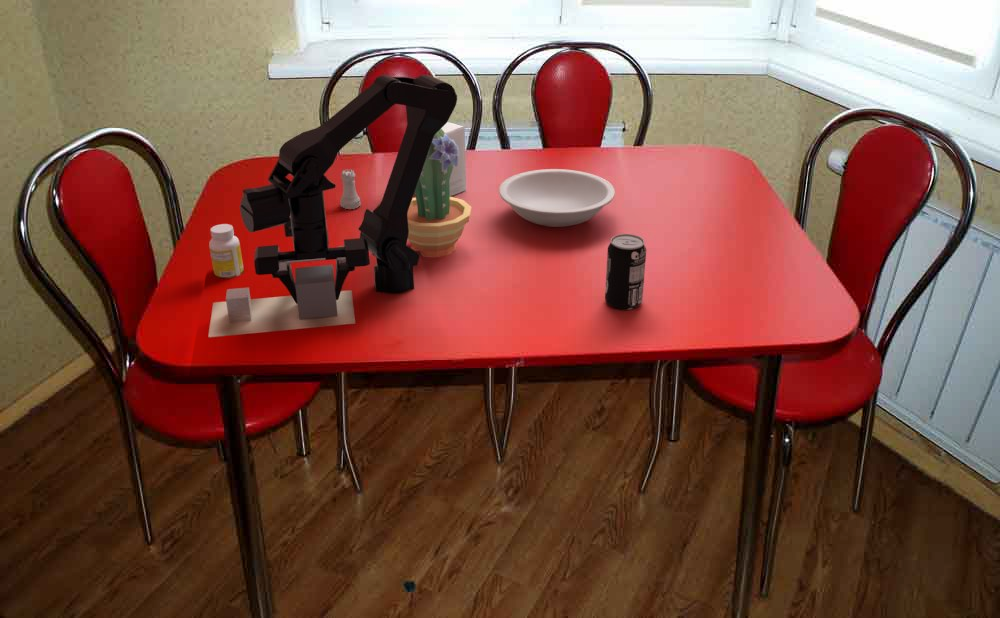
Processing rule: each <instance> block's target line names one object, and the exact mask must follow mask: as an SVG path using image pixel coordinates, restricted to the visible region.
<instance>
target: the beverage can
mask: <svg viewBox="0 0 1000 618" xmlns="http://www.w3.org/2000/svg"><path fill="white" fill-rule="evenodd" d="M606 255H607V258H606V272H605V273H606V274H605V289H604V291H605V292H604V299H605V301H606V303H607V304H608V305H609V306H610V307H612V308H613V309H616V310H623V311H624V310H625V311H629V310H633V309H636V308H637V307H638V306H639V305H641V303H642V302H643V300H644V299H643V298H644V283H645V271H646V259H647V248H646V245H645V240H644V239H643V238H642V237H641V236H639V235H636V234H631V233H621V234H616V235H614V236H612V237H611V238H610V243H609V244H608V246H607V254H606Z"/></svg>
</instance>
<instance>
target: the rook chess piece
mask: <svg viewBox="0 0 1000 618" xmlns="http://www.w3.org/2000/svg"><path fill="white" fill-rule="evenodd" d="M356 176H357V175H356V173H355V171H354V170H352V169H345V170H342V171H341V174H340V178H341V180H342V182H341V183H342V186H343V189H342V195H341V197H340V204H339V205H340V207H341V208H342V207H343V208H345V209H344V210H346V209H353V210H356V209H355V208H357V209H358V207H359V206H360V207H361V205H362V203H361V198H360V196H359V195H358V193H357V189H356V185H355V184H356V180H355V178H356ZM360 207H359V208H360ZM343 208H342V209H343Z"/></svg>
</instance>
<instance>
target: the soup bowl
mask: <svg viewBox="0 0 1000 618" xmlns="http://www.w3.org/2000/svg"><path fill="white" fill-rule="evenodd" d="M498 194H499V197H500V198H501V199H502V201H504V202H505V203H507V204H508V205H510V207H511V208H512V209H513V211H514V212H515V213H516V214H518V216H520V217H521V218H523V219H525V220H526V221H528V222H530V223H533V224H537V225H540V226H544V227H552V228H553V227H559V228H560V227H561V228H562V227H570V226H574V225H579V224H582V223H584V222H586V221H589V220H590V219H591V218H593V217H595V216H596V215H597V214H598V213H600V211H601V210H602V209H603V208H604V207H605V206H607V205H608V204H610V203H611V202H612V201H613V200H614V198H615V196H616V190H615V187H614V186H613V185H612V183H610V182H609V181H608V180H607V179H604V178H602V177H601V176H598V175H596V174H592V173H589V172H585V171H580V170H573V169H565V168H564V169H563V168H562V169H561V168H549V169H548V168H545V169H535V170H529V171H524V172H521V173H517V174H515V175H512V176H510V177H508V178H506V179H505V180H503V181H502V183H501V184H500V185H499V188H498Z"/></svg>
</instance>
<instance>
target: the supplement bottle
mask: <svg viewBox="0 0 1000 618" xmlns="http://www.w3.org/2000/svg"><path fill="white" fill-rule="evenodd" d="M234 231H235V230H234V227H233V225H232V224H230V223H229V224H228V223H221V224H216V225H214V226H212V227H210V236H211V238H210V240H209V243H208V244H209V245H208V247H209V252H210V253H209V254H210V258H211V263H212V269H213V274H214V275H215V277H217V278H219V279H232V278H235V277H238V276H241V275H242V274H243V273H244V271H245V270H244V263H243V258H242V257H243V256H242V250H241V243H240V240H239V238H238V237H237V236H236V235H234V234H235V232H234Z"/></svg>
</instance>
